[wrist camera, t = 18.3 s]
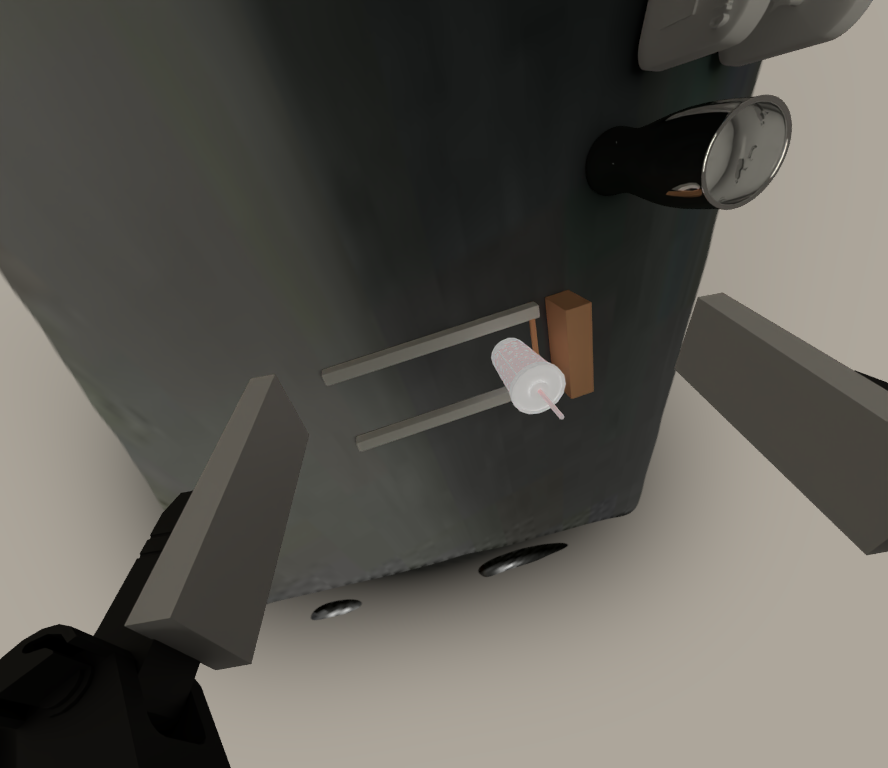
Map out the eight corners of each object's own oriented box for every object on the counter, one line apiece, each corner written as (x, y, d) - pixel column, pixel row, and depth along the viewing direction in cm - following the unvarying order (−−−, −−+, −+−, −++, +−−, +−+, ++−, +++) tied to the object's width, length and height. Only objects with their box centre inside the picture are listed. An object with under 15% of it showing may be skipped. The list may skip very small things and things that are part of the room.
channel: (360, 444, 48) (360, 470, 44) (322, 369, 41) (318, 391, 37) (573, 372, 49) (593, 391, 45) (568, 289, 43) (591, 302, 39)
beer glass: (647, 113, 35) (810, 79, 23) (639, 192, 39) (776, 201, 26) (581, 128, 35) (711, 102, 22) (580, 207, 38) (691, 223, 26)
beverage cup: (510, 383, 48) (560, 451, 36) (476, 362, 45) (518, 428, 33) (540, 347, 46) (604, 406, 34) (506, 323, 43) (563, 378, 32)
